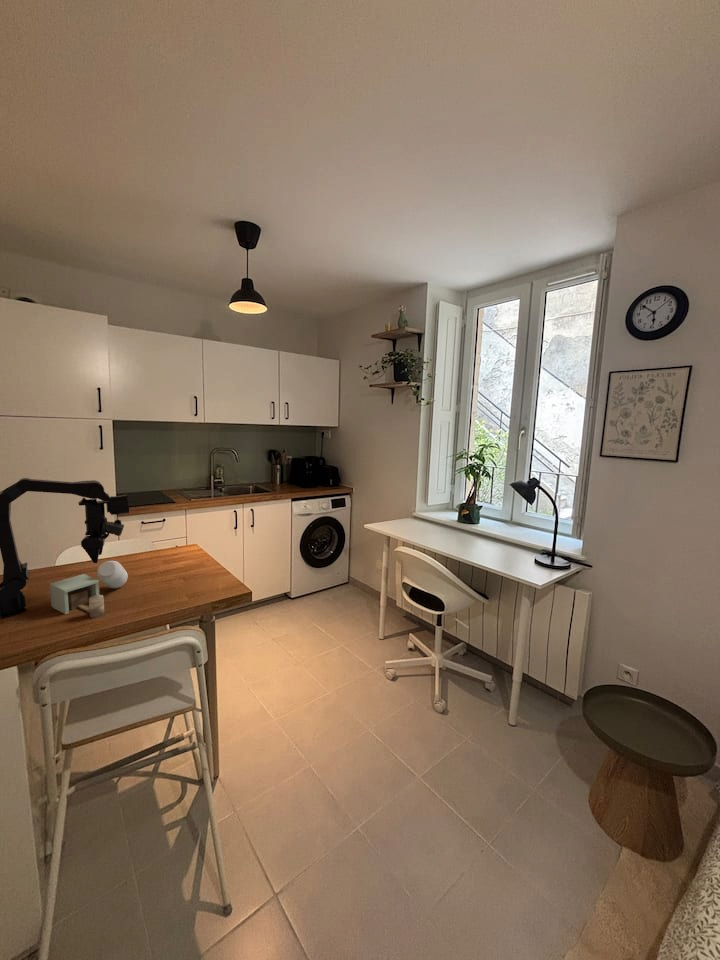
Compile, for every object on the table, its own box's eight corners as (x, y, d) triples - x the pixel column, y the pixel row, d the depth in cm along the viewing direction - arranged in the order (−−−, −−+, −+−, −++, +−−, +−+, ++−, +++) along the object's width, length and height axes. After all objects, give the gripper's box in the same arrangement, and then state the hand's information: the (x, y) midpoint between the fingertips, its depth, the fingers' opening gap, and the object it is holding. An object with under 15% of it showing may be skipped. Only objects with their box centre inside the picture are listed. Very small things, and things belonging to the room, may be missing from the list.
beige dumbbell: (92, 619, 126) (91, 601, 126) (64, 605, 135) (63, 589, 134) (108, 613, 131) (107, 596, 130) (80, 600, 139) (79, 584, 138)
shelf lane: (66, 614, 129) (64, 590, 128) (51, 607, 134) (49, 583, 133) (100, 602, 138) (99, 580, 137) (85, 595, 143) (83, 573, 142)
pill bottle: (105, 591, 148) (95, 582, 136) (103, 571, 151) (92, 560, 138) (129, 585, 152) (121, 576, 139) (126, 565, 154) (118, 554, 142)
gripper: (118, 520, 135) (120, 564, 137) (124, 509, 152) (126, 548, 154) (79, 523, 130) (82, 568, 132) (89, 511, 147) (92, 551, 149)
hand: (97, 558), depth 142 cm, fingers open, 9 cm apart
